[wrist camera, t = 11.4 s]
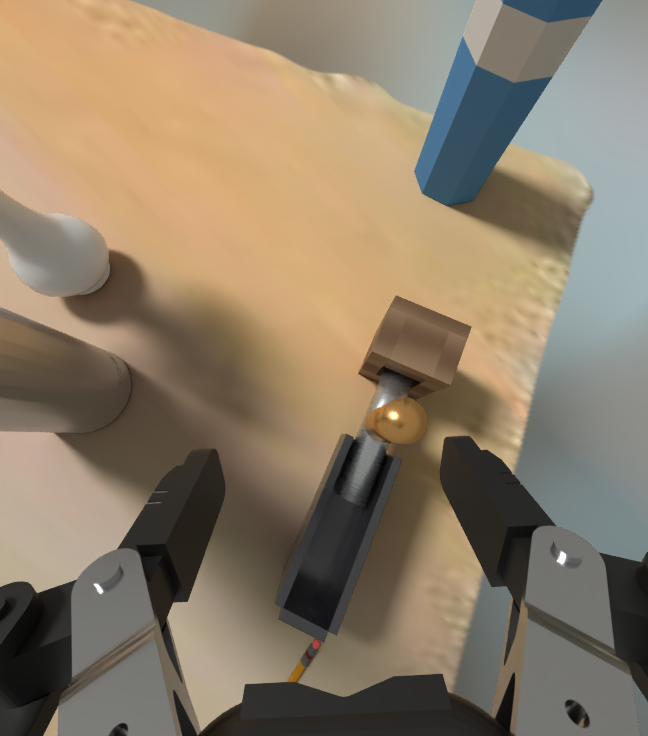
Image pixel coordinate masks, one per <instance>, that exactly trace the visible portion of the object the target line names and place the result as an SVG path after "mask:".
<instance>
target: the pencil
mask: <svg viewBox="0 0 648 736" xmlns="http://www.w3.org/2000/svg"><path fill="white" fill-rule="evenodd" d="M320 644H321V642H320V641H319V640H318V639H315V640H314V642H313V643H312V644H311V645H310V646H309V648H308V650H307V651H306V653H305V654H304V656H303V657H302V659H301V662H300V663H299V665H298V666H297V668H296V669H295V671H294V672H293V674H292V675H291V677H290V678H289V680H288V681H287V682H297V680H298V679H299V677H300V676H301V674H302V672H303V671H304V669H305V668H306V667H307V666H308V665H309V663H310V661H311V660H312V658H313V657H314V655H315V653H316V652H317V650H318V648H319V646H320Z"/></svg>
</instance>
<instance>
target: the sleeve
mask: <svg viewBox="0 0 648 736" xmlns="http://www.w3.org/2000/svg"><path fill="white" fill-rule="evenodd" d="M353 438H354V437H352V436H350V435H347V434H343V435H341V436H340V438H339V441H338V443H337V445H336V448H335V450H334V452H333V455H332V457H331V459H330V462H329V464H328V466H327V469H326V471H325V473H324V476H323V478H322V481H321V483H320V485H319V488H318V490H317V492H316V495H315V497H314V499H313V502H312V504H311V506H310V509H309V511H308V513H307V516H306V518H305V521H304V523H303V525H302V528H301V530H300V532H299V535H298V537H297V539H296V542H295V544H294V546H293V549H292V551H291V553H290V556H289V558H288V561H287V563H286V565H285V568H284V571H283V575H282V579H281V582H280V586H279V590H278V594H277V598H276V601H275V604H276V605H278V606H280V607H281V610H280V614H279V620H281V621H283V622H285V623H287V624H289V625H291V626H293V627H295V628H296V629H298V630H300V631H302V632H304V633H306V634H308V635H310V636H312V637H314V638H316V639H318V640H320V641H322V642H324V641H325V639H326V636H327V633H328V631H329V632H331V633H333V634H335V635H336V636H337V633H338V631H339V628H340V625H341V623H342V620H343V617H344V615H345V612H346V609H347V607H348V604H349V601H350V599H351V596H352V593H353V590H354V588H355V585H356V582H357V580H358V577H359V574H360V572H361V569H362V566H363V564H364V561H365V558H366V555H367V553H368V550H369V547H370V545H371V542H372V539H373V537H374V534H375V531H376V529H377V526H378V523H379V521H380V518H381V515H382V512H383V510H384V507H385V504H386V502H387V499H388V496H389V494H390V491H391V488H392V486H393V483H394V480H395V478H396V475H397V472H398V469H399V467H400V464H401V461H402V459H400V458H398V457H396V456H392V455H388V454H385V456H384V458H383V461H382V464H381V466H380V469H379V471H378V474H377V477H376V479H375V482H374V484H373V487H372V489H371V492H370V495H369V497H368V500H367V502H366V505H365V507H362V506H359V505H356V504H354V503H352V502H350V501H348V500H346V499H344V498H342V497H340V496H339V495H337V494H336V493H335V492H334V489H335V487H336V485H337V482H338V480H339V477H340V475H341V472H342V470H343V468H344V465H345V463H346V460H347V458H348V455H349V453H350V451H351V448H352V446H353V443H354V441H355V440H354V439H353Z"/></svg>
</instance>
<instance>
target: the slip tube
mask: <svg viewBox="0 0 648 736" xmlns="http://www.w3.org/2000/svg"><path fill="white" fill-rule="evenodd" d="M413 381H414V379H412V378H410V377H407V376H405V375H403V374H400V373H398V372H396V371H393V370H391V369H389V368H386V367H385V368H384V371H383V373H382V376H381V378H380V380H379V383H378V385H377V388H376V390H375V393H374V395H373V397H372V400H371V402H370V405H369V407H368V409H367V412H366V414H365V417H364V419H363V422H362V424H361V426H360V429H359V431H358V434H357V436H356V439H355V441H354V443H353V446H352V448H351V451H350V453H349V455H348V458H347V460H346V463H345V465H344V468H343V470H342V472H341V475H340V477H339V480H338V482H337V485H336V487H335V489H334V492H335V493H336V494H337V495H339V496H340V497H342V498H344V499H346V500H348V501H350V502H352V503H354V504H356V505H359V506H362V507H365V505H366V502H367V500H368V497H369V495H370V492H371V489H372V487H373V484H374V482H375V479H376V477H377V474H378V471H379V469H380V466H381V464H382V461H383V458H384V456H385V453H386V451H387V448H388V445H389V443H397V444H412V443H415V442H417V441H418V440H420V439H421V438H422V437H423V436H424V434H425V433H426V430H427V427H428V417H427V414H426V411H425V410H424V408H423V407H422V406H421V404H419V403H418V402H417V401H415V400H413V399H411V398H407V396H408V394H409V391H410V388H411V386H412V383H413Z"/></svg>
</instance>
